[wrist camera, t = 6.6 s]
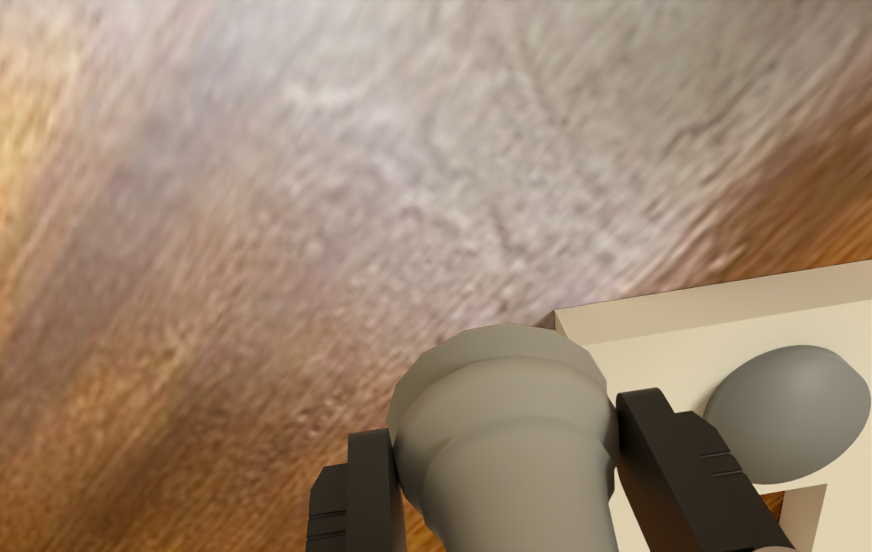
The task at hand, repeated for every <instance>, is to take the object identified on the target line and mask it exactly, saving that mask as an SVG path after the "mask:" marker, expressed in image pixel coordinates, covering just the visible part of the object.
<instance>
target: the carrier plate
mask: <svg viewBox="0 0 872 552" xmlns="http://www.w3.org/2000/svg"><path fill="white" fill-rule="evenodd" d="M555 331H557V332H558V333H560V334H562V335H563V336H565V337H566V338H568V339H570V340H571V341H573V342H575V343H576V344H578V345H579V346H581V347H583V348H584V349H586V350H588V351H589V353H590V354H591V356H592V358H593V359H594V361H595V363H596V364H597V366H598V368H599V369H600V371H601V372H602V374H603V376H604V377H605V379H606V381H607V395H608V397H609V399H610V400H611V402H612V403H613V405H614V407H616V396H617V394H618V393H622V392H628V391H635V390H641V389H648V388H654V387H657V388H659V389H660V390H661V391H662V392H663V394H664V396H665V397H666V399H667V401H668V402H669V404H670V406H671V407H672V409H673V411H674V412H675V413H679V412H685V411H693V412H695V413H696V414H697V415H699V416H700V417H701V418H703V419H704V420H706V421H707V422H708V423H710V424H711V425H712V426H714V427H715V428H716V429H717V431H718V432H719V434H720V435H721V437H722V438H723V440H724V441H725V443H726V445H727V446H728V448H729V449H730V452H731V455H734V457H735V458H736V460H737V461H738V463H739V464H740V466H741V467H742V471H743V473H744V474H746V475H747V477H748V478H749V480H750V481H751V483H752V484H753V486H754V487H755V489H756V490H757V492H758V493H759V495H761V494H767V493H773V492H779V491H785V494H784V499H783V504H782V510H781V515H780V520H779V525H780V527H781V528H782V530H783V532H784V533H785V535H786V536H787V538H788V539H789V541H790V542H791V543H792V545H793V546H794V547H795V549H796V550H799V551H801V552H872V260H866V261H859V262H853V263H847V264H841V265H834V266H828V267H822V268H815V269H809V270H803V271H797V272H790V273H784V274H778V275H771V276H765V277H759V278H753V279H746V280H740V281H734V282H727V283H721V284H715V285H709V286H702V287H696V288H690V289H683V290H677V291H671V292H665V293H658V294H652V295H646V296H639V297H633V298H627V299H621V300H614V301H608V302H602V303H595V304H589V305H583V306H577V307H570V308H564V309H558V310H555ZM614 478H615V491H614V493H613V495H612V497H611V499H610V501H609V503H608V504H609V509H610V513H611V518H612V522H613V527H614V531H615V536H616V540H617V545H618V549H619V552H650V550H649V547H648V545H647V543H646V541H645V538H644V536H643V534H642V531H641V529H640V527H639V524H638V522H637V520H636V518H635V515H634V513H633V511H632V508H631V506H630V504H629V501H628V499H627V497H626V494H625V492H624V490H623V488H622V485H621V482H620V479H619V476H618V472H617V468H615V470H614Z"/></svg>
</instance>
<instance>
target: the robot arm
mask: <svg viewBox="0 0 872 552" xmlns="http://www.w3.org/2000/svg"><path fill="white" fill-rule="evenodd" d="M615 408H616V410H617V412H618V423H619V462H618V464H617V466H616V468H617V472H618V476H619V479H620V482H621V485H622V488H623V490H624V492H625V494H626V497H627V499H628V501H629V504H630V506H631V508H632V511H633V513H634V515H635V518H636V520H637V522H638V524H639V527H640V529H641V531H642V534H643V536H644V538H645V541H646V543H647V545H648V547H649V550H650V552H801V551H799V550H796V549H795V547H794V546H793V545H792V543H791V542H790V541H789V539H788V538H787V536H786V535H785V533H784V532H783V530H782V528H781V527H780V525H779V524H778V522H777V521H776V519H775V518H774V516H773V515H772V513H771V512H770V510H769V509H768V507H767V506H766V504H765V503H764V501H763V499H762V498H761V496H760V495H759V493H758V492H757V490H756V489H755V487H754V486H753V484H752V483H751V481H750V480H749V478H748V477H747V475H746V474H744V473H743V471H742V467H741V466H740V464H739V463H738V461H737V460H736V458H735V457H734V455H731V452H730V449H729V448H728V446H727V445H726V443H725V441H724V440H723V438H722V437H721V435H720V434H719V432H718V431H717V429H716V428H715V427H714V426H712V425H711V424H710V423H708V422H707V421H706V420H704V419H703V418H701V417H700V416H699V415H697V414H696V413H695V412H693V411H685V412H679V413H675V412H674V411H673V409H672V407H671V406H670V404H669V402H668V401H667V399H666V397H665V396H664V394H663V392H662V391H661V390H660V389H659V388H657V387H654V388H648V389H641V390H635V391H628V392H622V393H618V394H617V396H616V407H615ZM305 552H407V551H406V536H405V521H404V510H403V501H402V494H401V488H400V484H399V481H398V476H397V472H396V467H395V463H394V458H393V453H392V443H391V438H390V434H389V430H388V428H383V429H377V430H370V431H364V432H357V433H351V434H349V437H348V463H345V464H338V465H332V466H325V467H323V469H322V471H321V473H320V475H319V476H318V478H317V480H316V482H315V484H314V485H313V487H312V489H311V493H310V504H309V520H308V528H307V542H306V551H305Z"/></svg>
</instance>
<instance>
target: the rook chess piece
mask: <svg viewBox="0 0 872 552" xmlns="http://www.w3.org/2000/svg"><path fill="white" fill-rule="evenodd" d="M386 421H387V425H388V429H389V433H390V437H391V441H392V445H393V448H392V453H393V458H394V463H395V467H396V472H397V476H398V481H399V484H400V486H401V489H402V491H403V493H404V495H405V498H406V499H407V500H408V501H409V502H410V503H411V504H412V505H413V506H414V507H415V509H416V510H417V511H418V512H419V513H420V514H421V515H422V516H423V517H424V521H425V524H426V526H427V527H428V528H429V529H430V530H431V531H432V532H433V533H434V534H435V535H436V536H437V537H438V538H439V539H440V540H441V541H442V543H443V545H444V547H445V549H446V551H447V552H619V549H618V545H617V540H616V536H615V531H614V527H613V522H612V518H611V513H610V509H609V504H608V503H609V501H610V499H611V497H612V495H613V493H614V491H615V478H614V470H615V468H616V466H617V464H618V462H619V423H618V412H617V410H616V408H615V407H614V405H613V403H612V402H611V400H610V399H609V397H608V395H607V381H606V379H605V377H604V376H603V374H602V372H601V371H600V369H599V368H598V366H597V364H596V363H595V361H594V359H593V358H592V356H591V354H590V353H589V351H588V350H586V349H584V348H583V347H581V346H579V345H578V344H576V343H575V342H573V341H571V340H570V339H568V338H566V337H565V336H563V335H562V334H560V333H558V332H557V331H555V330H550V329H544V328H538V327H532V326H525V325H519V324H513V323H503V324H498V325H492V326H486V327H481V328H475V329H469V330H465V331H463V332H461V333H459V334H457V335H456V336H454V337H452V338H450V339H448V340H446V341H445V342H443V343H441V344H439V345H437V346H435V347H434V348H432V349H430V350H428V351H426V352H424V353H423V354H422V355H421V356H420V357H419V358H418V359H417V361H416V362H415V363H414V364H413V365H412V367H411V368H410V369H409V370H408V371H407V372H406V374H405V375H404V376H403V377H402V378H401V379H400V381H399V382H398V383H397V384H396V386H395V389H394V393H393V397H392V400H391V404H390V408H389V411H388V415H387V419H386Z"/></svg>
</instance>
